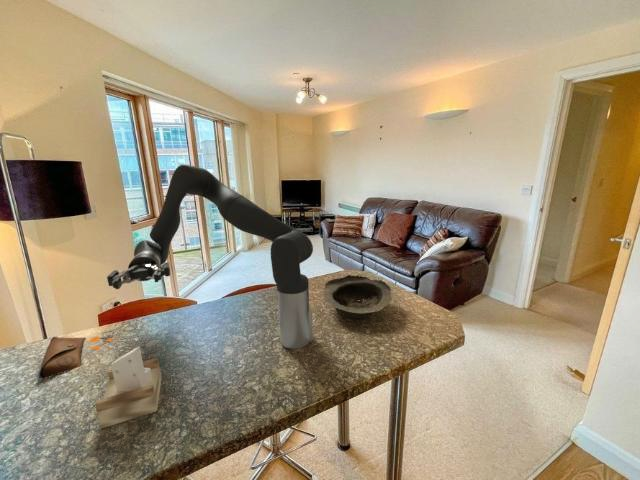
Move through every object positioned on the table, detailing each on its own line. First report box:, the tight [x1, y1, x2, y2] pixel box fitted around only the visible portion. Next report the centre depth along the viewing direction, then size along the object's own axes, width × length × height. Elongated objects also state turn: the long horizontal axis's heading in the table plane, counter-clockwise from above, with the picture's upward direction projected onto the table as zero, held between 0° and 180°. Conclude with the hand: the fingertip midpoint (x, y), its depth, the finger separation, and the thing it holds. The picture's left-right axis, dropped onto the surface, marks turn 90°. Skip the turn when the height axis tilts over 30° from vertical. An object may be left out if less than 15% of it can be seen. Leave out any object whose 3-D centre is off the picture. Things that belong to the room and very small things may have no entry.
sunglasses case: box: [39, 336, 87, 380], centre depth 80 cm, size 18×7×7 cm
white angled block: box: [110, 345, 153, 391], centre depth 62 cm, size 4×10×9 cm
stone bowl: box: [322, 274, 393, 320], centre depth 102 cm, size 25×25×9 cm
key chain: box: [84, 329, 116, 357], centre depth 87 cm, size 13×7×1 cm, turn 29°
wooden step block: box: [94, 357, 162, 429], centre depth 63 cm, size 10×11×6 cm
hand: (136, 282), depth 71 cm, fingers open, 8 cm apart
